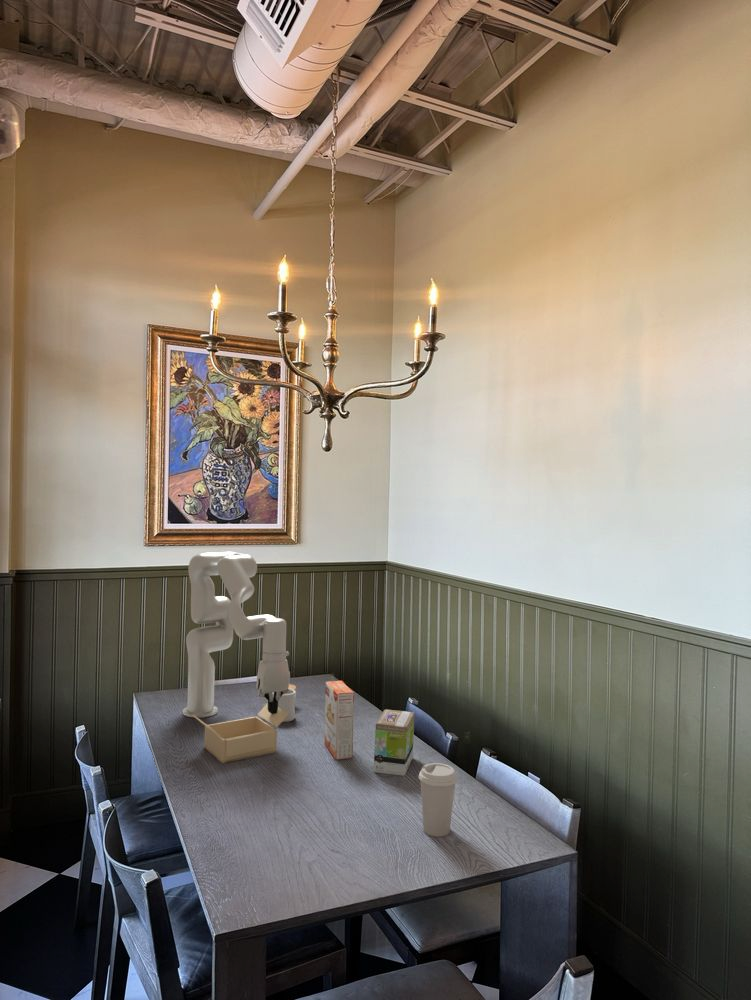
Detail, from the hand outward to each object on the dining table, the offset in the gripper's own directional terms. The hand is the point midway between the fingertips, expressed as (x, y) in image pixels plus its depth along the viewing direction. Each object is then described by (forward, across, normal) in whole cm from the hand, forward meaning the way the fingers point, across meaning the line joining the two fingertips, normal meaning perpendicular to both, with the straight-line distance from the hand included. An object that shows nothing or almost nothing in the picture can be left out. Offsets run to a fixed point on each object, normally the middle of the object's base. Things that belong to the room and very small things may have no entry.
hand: (272, 712), depth 220 cm
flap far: (0, 0, 0) cm, 1 cm away
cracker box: (+10, -15, +16) cm, 25 cm away
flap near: (+1, +22, 0) cm, 22 cm away
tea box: (+11, -24, +34) cm, 44 cm away
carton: (+10, +11, 0) cm, 15 cm away
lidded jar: (+10, -20, -33) cm, 39 cm away
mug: (+10, -13, -22) cm, 27 cm away
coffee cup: (+11, -10, +73) cm, 74 cm away
